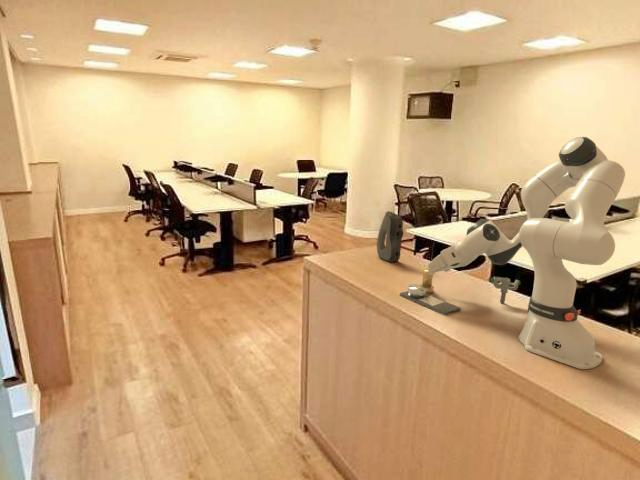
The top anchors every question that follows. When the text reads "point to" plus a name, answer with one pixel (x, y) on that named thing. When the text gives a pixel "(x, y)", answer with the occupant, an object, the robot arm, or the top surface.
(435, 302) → the carrier plate
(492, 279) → the mechanical component
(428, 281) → the gold pawn piece
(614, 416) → the top surface
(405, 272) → the top surface
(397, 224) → the handheld device
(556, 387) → the top surface
